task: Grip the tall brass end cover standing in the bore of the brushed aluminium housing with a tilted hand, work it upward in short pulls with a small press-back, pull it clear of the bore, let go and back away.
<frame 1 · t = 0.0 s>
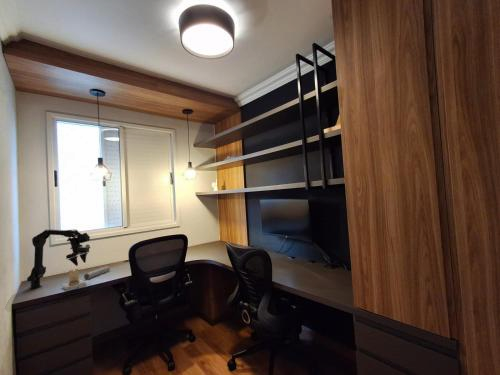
hand: (81, 264, 187), 15 cm above the table, tool pointing down, fingers open, 9 cm apart
tube: (98, 275, 210), on the table
cover: (73, 278, 182), point 6 cm above the table, slide at 0.0 cm
housing: (74, 286, 181), on the table
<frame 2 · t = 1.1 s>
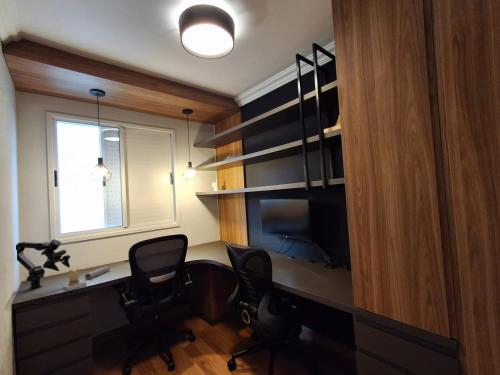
hand: (64, 268, 183), 13 cm above the table, tool tilted 45°, fingers open, 9 cm apart
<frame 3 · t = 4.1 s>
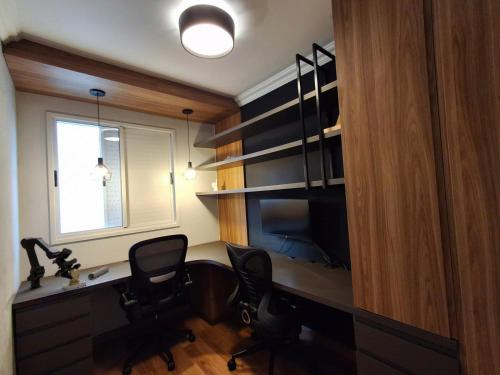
hand: (75, 277, 181), 7 cm above the table, tool tilted 45°, fingers closed on cover, 6 cm apart
cover: (73, 278, 182), point 6 cm above the table, slide at 0.0 cm, touching gripper
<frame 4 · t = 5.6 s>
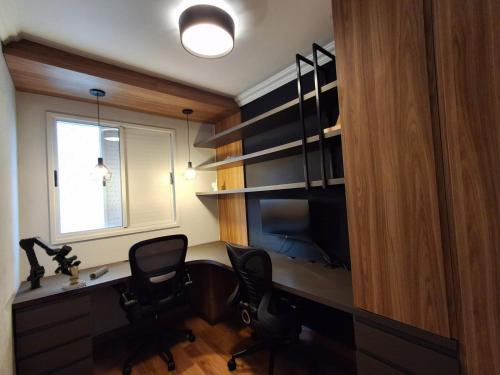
hand: (75, 274, 182), 9 cm above the table, tool tilted 45°, fingers closed on cover, 6 cm apart
cover: (73, 275, 182), point 9 cm above the table, slide at 2.3 cm, touching gripper
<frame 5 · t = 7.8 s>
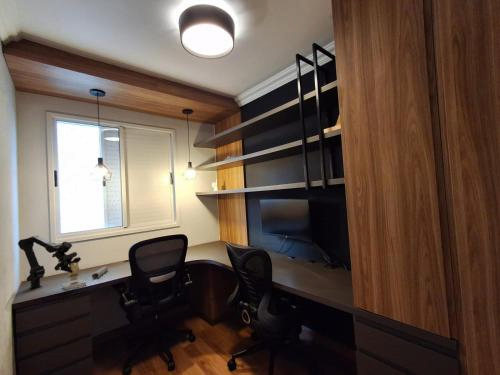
hand: (75, 271, 182), 11 cm above the table, tool tilted 45°, fingers closed on cover, 6 cm apart
cover: (73, 271, 182), point 11 cm above the table, slide at 4.9 cm, touching gripper
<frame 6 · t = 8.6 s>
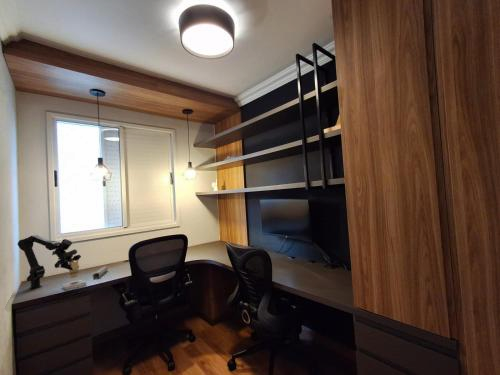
hand: (75, 268, 182), 13 cm above the table, tool tilted 45°, fingers closed on cover, 5 cm apart
cover: (73, 269, 182), point 13 cm above the table, slide at 6.8 cm, touching gripper
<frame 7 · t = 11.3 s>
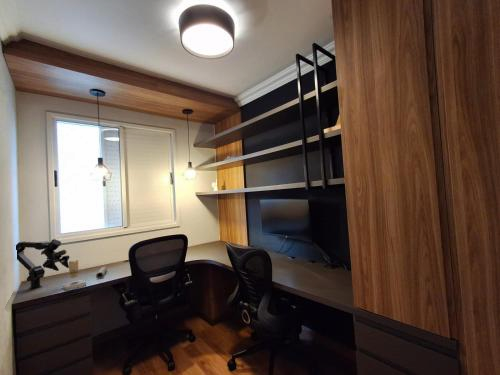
hand: (63, 269, 183), 13 cm above the table, tool tilted 45°, fingers open, 9 cm apart
cover: (73, 269, 182), point 13 cm above the table, slide at 6.8 cm
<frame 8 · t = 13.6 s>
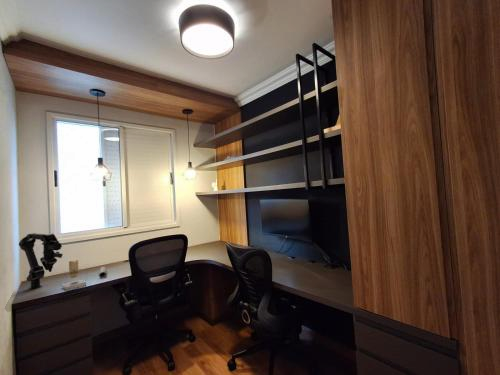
hand: (48, 271, 181), 13 cm above the table, tool pointing down, fingers open, 9 cm apart
at the end: cover slide at 6.8 cm; the gripper is holding nothing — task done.
